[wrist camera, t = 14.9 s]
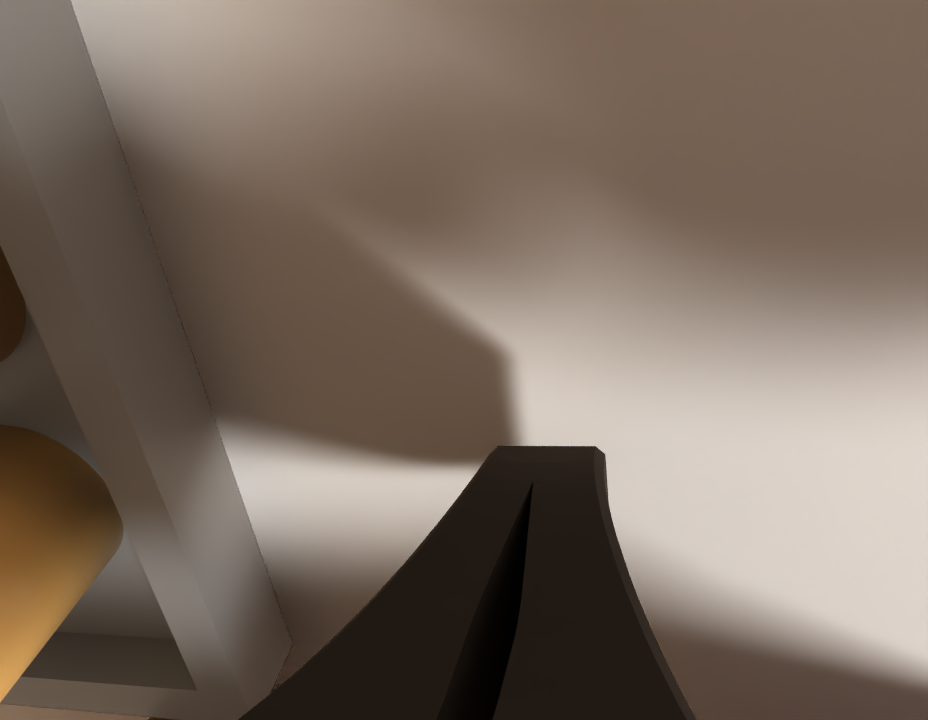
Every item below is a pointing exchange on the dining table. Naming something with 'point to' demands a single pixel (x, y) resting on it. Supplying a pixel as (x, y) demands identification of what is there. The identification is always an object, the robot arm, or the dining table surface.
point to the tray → (107, 428)
